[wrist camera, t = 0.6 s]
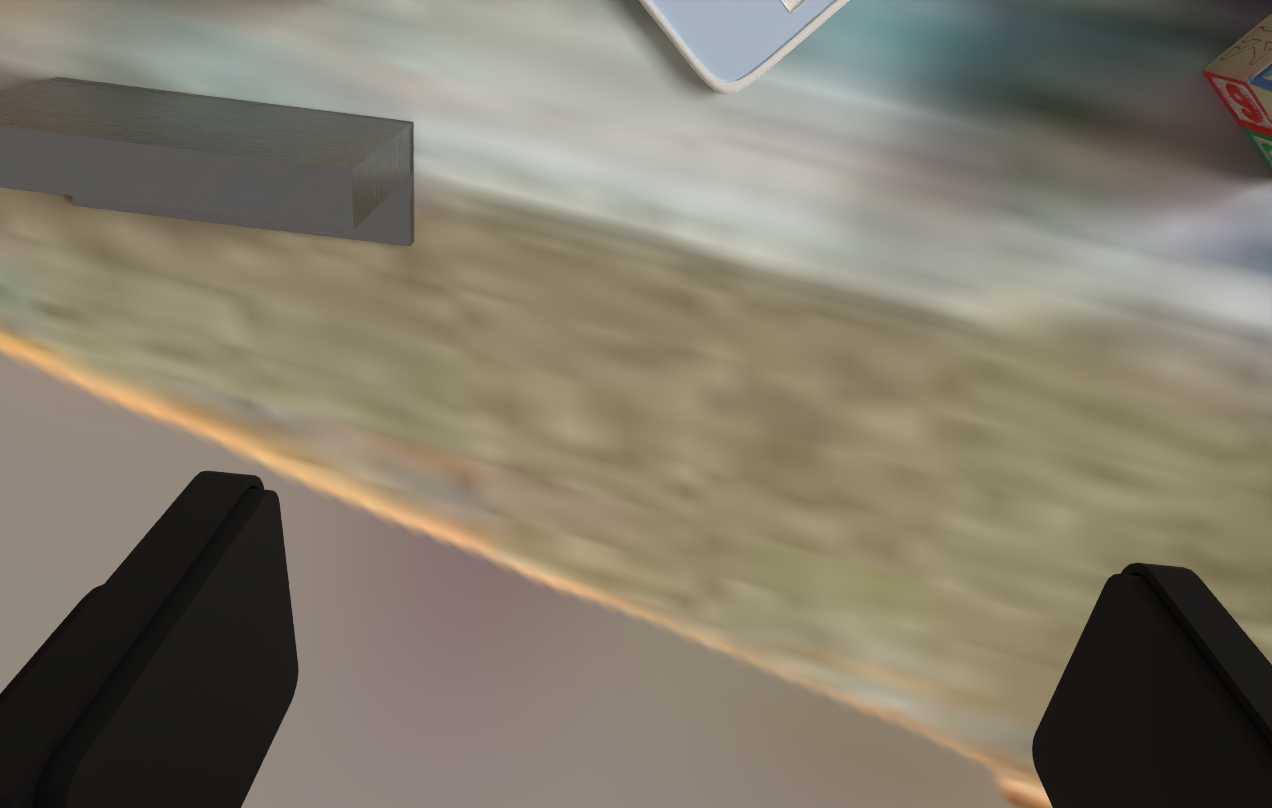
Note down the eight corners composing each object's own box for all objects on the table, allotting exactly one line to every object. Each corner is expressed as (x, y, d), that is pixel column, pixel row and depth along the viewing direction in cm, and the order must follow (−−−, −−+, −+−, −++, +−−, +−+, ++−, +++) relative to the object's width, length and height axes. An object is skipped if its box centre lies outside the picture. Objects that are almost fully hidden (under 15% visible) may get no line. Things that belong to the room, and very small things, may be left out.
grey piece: (58, 77, 34) (-96, 114, 27) (413, 122, 35) (351, 169, 28) (81, 201, 37) (-55, 265, 30) (413, 241, 37) (357, 313, 30)
